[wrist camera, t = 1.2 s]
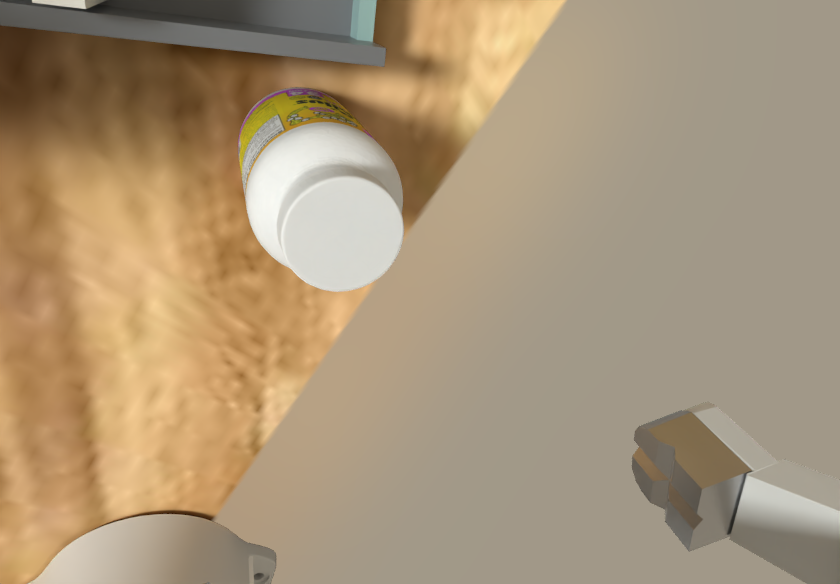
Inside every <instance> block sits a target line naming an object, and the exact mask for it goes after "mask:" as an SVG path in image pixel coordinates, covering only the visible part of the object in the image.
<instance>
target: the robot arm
mask: <svg viewBox="0 0 840 584" xmlns="http://www.w3.org/2000/svg"><path fill="white" fill-rule="evenodd" d="M634 441H635V442H636V443H637V444H638V446H639V448H638V449H637V451H636V452H635V453H634V454H633V457H632V470H633V473H634V476H635V479H636V482H637V484H638V485H639V487H640V489H641V491H642V492H643V493H644V495H645V496H646V498H647V499H648V500H649V501H650V503H652V504H654V505H657V506H659V507H661V508H663V509H665V522H666V523H667V525H668V526H669V527H670V528H671V529H672V531H673V532H674V533H675V535H676V536H677V537H678V538H679V540H680V541H681V542H682V543H683V545H684V546H685V547H686V548H687V550H688V551H692V550H695V549H698V548H700V547H703V546H706V545H708V544H711V543H713V542H716V541H719V540H722V539H724V538H727V537H730V540H732V541H733V542H735V543H737V544H738V545H740V546H742V547H744V548H746V549H747V550H749V551H751V552H752V553H754V554H756V555H758V556H759V557H761V558H763V559H765V560H766V561H768V562H770V563H772V564H773V565H775V566H777V567H779V568H780V569H782V570H784V571H786V572H787V573H789V574H791V575H793V576H794V577H796V578H798V579H800V580H802V581H803V582H805V583H807V584H840V479H837V478H834V477H831V476H829V475H826V474H824V473H821V472H818V471H816V470H813V469H810V468H807V467H805V466H802V465H799V464H796V463H794V462H791V461H788V460H786V459H784V460H781V461H777V460H776V459H775V458H774V457H773V456H771V455H770V454H769V453H768V452H767V451H766V450H765V449H764V448H763V447H761V446H760V445H759V444H758V443H757V442H756V441H755V440H754V439H752V438H751V437H750V436H749V435H748V434H747V433H746V432H745V431H744V430H743V429H741V428H740V427H739V426H738V425H737V424H736V423H735V422H734V421H732V420H731V419H730V418H729V417H728V416H727V415H726V414H725V413H724V412H723V411H721V410H720V409H719V408H718V407H717V406H715V405H714V404H712V403H710V402H705V403H702V404H699V405H697V406H694V407H691V408H689V409H686V410H683V411H682V410H681V411H678V412H675V413H673V414H670V415H668V416H665V417H662V418H660V419H657V420H655V421H652V422H649V423H646V424H644V425H641V426H639V427H638V428H637V429H636V431H635V437H634ZM275 568H276V553H275V552H274V551H273V550H271V549H269V548H266V547H263V546H260V545H255V544H251V543H247V542H245V541H243V540H242V539H240V538H239V537H238V536H236V535H235V534H234V533H232V532H231V531H230V530H229V529H227V528H225V527H223V526H222V525H220V524H218V523H216V522H213V521H210V520H207V519H204V518H200V517H195V516H189V515H180V514H155V515H145V516H138V517H133V518H128V519H124V520H120V521H117V522H113V523H110V524H107V525H105V526H102V527H100V528H97V529H95V530H93V531H91V532H89V533H87V534H85V535H83V536H81V537H79V538H78V539H76V540H75V541H73V542H72V543H70V544H69V545H68V546H66V547H65V548H64V549H63V550H61V551H60V552H59V553H58V554H57V555H56V556H55V557H54V558H53V560H52V561H51V562H50V563H49V565H48V566H47V567H46V569H45V570H44V571H43V572H42V573H41V574H40V576H38V577H37V578H36V579H35V580H33V581H31V582H30V583H28V584H271V581H272V578H273V575H274V572H275Z"/></svg>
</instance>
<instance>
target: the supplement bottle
mask: <svg viewBox="0 0 840 584" xmlns="http://www.w3.org/2000/svg"><path fill="white" fill-rule="evenodd" d="M238 156H239V163H240V169H241V175H242V181H243V188H244V193H245V200H246V207H247V212H248V217H249V221H250V224H251V227H252V229H253V232H254V234H255V236H256V237H257V239H258V241H259V242H260V244H261V245H262V246H263V248H264V249H265V250H266V251H267V252H268V253H269V254H270V255H271V256H272V257H273V258H274V259H276V260H277V261H278V262H280V263H281V264H283V265H285V266H287V267H288V268H291V269H292V270H293V272H294V273H295V274H296V275H297V276H298V277H299V278H301V279H302V280H303V281H305V282H306V283H308V284H309V285H312V286H314V287H316V288H319V289H322V290H327V291H336V292H340V291H350V290H354V289H358V288H361V287H364V286H366V285H368V284H370V283H372V282H374V281H375V280H377V279H378V278H379V277H381V276H382V275H383V274H384V273H385V272H386V271H387V270H388V269H389V268H390V266H391V265H392V264H393V262H394V261H395V259H396V258H397V256H398V254H399V251H400V248H401V246H402V242H403V236H404V223H403V217H402V208H403V190H402V184H401V180H400V176H399V174H398V171H397V169H396V167H395V165H394V163H393V161H392V159H391V158H390V156H389V155H388V154H387V153H386V151H385V150H384V149H383V148H382V147H381V146H380V145H379V144H378V143H377V142H376V140H375V139H374V138H373V137H372V136H371V135H370V134H369V133H368V132H367V131H366V130H365V129H364V127H363V126H362V125H361V124H360V123H359V122H358V121H357V120H356V119H355V118H354V117H353V116H352V115H351V114H350V113H349V112H348V111H347V110H346V108H345V107H343V106H342V105H341V104H340V103H339V102H338V101H337V100H335V99H334V98H332V97H331V96H329V95H327V94H325V93H323V92H320V91H317V90H314V89H310V88H302V87H293V88H286V89H282V90H278V91H276V92H273V93H271V94H269V95H267V96H266V97H264V98H263V99H261V100H260V101H259V102H258V103H257V104H256V105H254V107H253V108H252V109H251V110H250V111H249V113H248V115H247V116H246V118H245V120H244V122H243V124H242V127H241V130H240V134H239V140H238Z"/></svg>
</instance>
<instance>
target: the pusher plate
mask: <svg viewBox="0 0 840 584" xmlns="http://www.w3.org/2000/svg"><path fill="white" fill-rule="evenodd" d="M104 1H106V0H32V3H40V4H48V5H56V6H65V7H73V8H81V9H87V8H90V7H92V6H94V5H97V4H99V3H102V2H104Z"/></svg>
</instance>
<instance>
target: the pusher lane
mask: <svg viewBox="0 0 840 584" xmlns="http://www.w3.org/2000/svg"><path fill="white" fill-rule="evenodd" d="M376 1H377V0H106V1H104V2H102V3H99V4H97V5H94V6H92V7H90V8H87V9H81V8H73V7H65V6H56V5H48V4H40V3H32V0H0V25H3V26H12V27H21V28H30V29H40V30H49V31H58V32H67V33H77V34H86V35H95V36H104V37H113V38H123V39H132V40H141V41H150V42H160V43H169V44H178V45H187V46H197V47H206V48H215V49H224V50H233V51H243V52H252V53H261V54H270V55H280V56H289V57H298V58H307V59H316V60H326V61H335V62H344V63H353V64H363V65H372V66H381V67H384V65H385V55H386V48H385V47H383V46H381V45H379V44H376V43H374V42H373V34H374V23H375V12H376Z"/></svg>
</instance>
